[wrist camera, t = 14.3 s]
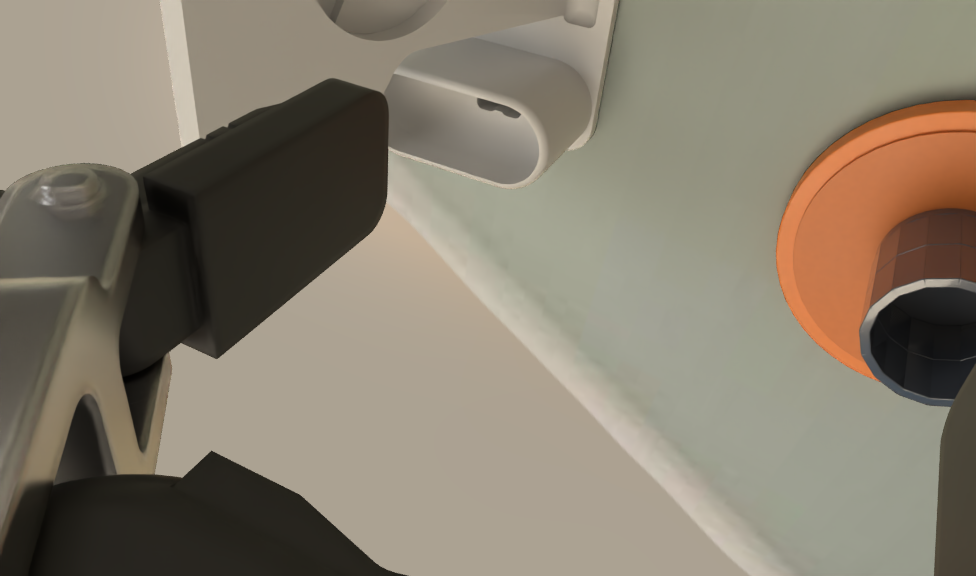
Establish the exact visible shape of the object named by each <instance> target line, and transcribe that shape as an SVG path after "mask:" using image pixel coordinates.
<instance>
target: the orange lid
mask: <svg viewBox="0 0 976 576" xmlns="http://www.w3.org/2000/svg"><path fill="white" fill-rule="evenodd" d="M943 208H958V209H967V210H972V211H976V100H955V101H940V102H933V103H927V104H921V105H915V106H912V107H908V108H904V109H901V110H897V111H893V112H891V113H888V114H886V115H883V116H881V117H878V118H876V119H873V120H871V121H869V122H867V123H865V124H863V125H861V126H859V127H858V128H856V129H854V130H852V131H850V132H849V133H847V134H846V135H845V136H843V137H842V138H840V139H839V140H837V141H836V142H835V143H833V144H832V145H831V146H830V147H829V148H828V149H826V150H825V151H824V152H823V153H822V154H821V155H820V156H819V157H818V158H817V159H816V160H815V161H814V162H813V163H812V165H811V166H810V167H809V168H808V169H807V171H806V172H805V173H804V175H803V176H802V178H801V179H800V181H799V182H798V184H797V186H796V187H795V189H794V191H793V193H792V195H791V198H790V200H789V202H788V204H787V207H786V209H785V212H784V214H783V217H782V221H781V224H780V228H779V232H778V238H777V246H776V261H777V271H778V276H779V281H780V285H781V288H782V291H783V294H784V296H785V299H786V301H787V303H788V305H789V307H790V309H791V311H792V313H793V315H794V316H795V318H796V319H797V320H798V322H799V323H800V325H801V326H802V327H803V329H804V330H805V331H806V332H807V333H808V334H809V336H810V337H811V338H812V339H813V340H814V341H815V342H816V343H817V344H818V345H819V346H820V347H822V348H823V349H824V350H825V351H826V352H828V353H829V354H830V355H831V356H833V357H834V358H836V359H837V360H839V361H840V362H841V363H843V364H844V365H846V366H848V367H850V368H851V369H853V370H855V371H857V372H859V373H861V374H863V375H865V376H867V377H870V378H872V379H875V380H877V381H879V380H878V379H876V378H875V377H874V375H873V374H872V372H871V371H870V369H869V367H868V366H867V364H866V362H865V361H864V359H863V357H862V356H861V352H860V339H859V328H860V323H861V317H862V312H863V307H864V302H865V297H866V292H867V287H868V282H869V276H870V271H871V266H872V263H873V261H874V257H875V254H876V251H877V248H878V246H879V244H880V243H881V241H882V240H883V238H884V237H885V236H886V234H887V233H888V232H889V231H890V230H891V229H892V228H894V227H895V226H896V225H898V224H899V223H900V222H902V221H904V220H905V219H907V218H909V217H911V216H914V215H916V214H919V213H922V212H925V211H930V210H935V209H943ZM879 382H880V381H879Z"/></svg>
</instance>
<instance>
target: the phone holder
mask: <svg viewBox="0 0 976 576" xmlns="http://www.w3.org/2000/svg"><path fill="white" fill-rule="evenodd" d="M618 4H619V0H160V7H161V13H162V20H163V26H164V33H165V40H166V47H167V54H168V61H169V67H170V74H171V81H172V88H173V94H174V100H175V107H176V113H177V120H178V126H179V132H180V139H181V146H182V147H184V146H186V145H188V144H189V143H191V142H193V141H195V140H197V139H199V138H203V139H205V138H206V135H207V134H209V133H211V132H213V131H215V130H217V129H218V128H220V127H222V126H224V127H228V124H229V123H230V122H232V121H234V120H236V119H238V118H240V117H242V116H244V115H246V114H247V113H249V112H251V111H253V110H255V109H259V108H263V107H267V106H271V105H275V104H280V103H282V102H284V101H286V100H288V99H290V98H292V97H294V96H296V95H298V94H299V93H301V92H303V91H305V90H307V89H309V88H311V87H313V86H315V85H317V84H318V83H320V82H322V81H324V80H326V79H329V78H336V79H340V80H343V81H346V82H349V83H353V84H356V85H359V86H363V87H366V88H369V89H373V90H376V91H379V92H381V93H382V94H383V95H384V96H385V98H386V100H387V103H388V108H389V136H388V150H390V151H392V152H394V153H396V154H398V155H401V156H404V157H407V158H410V159H413V160H416V161H419V162H422V163H425V164H429V165H432V166H435V167H438V168H441V169H444V170H447V171H450V172H453V173H456V174H459V175H462V176H465V177H469V178H472V179H475V180H478V181H481V182H484V183H487V184H490V185H493V186H496V187H500V188H505V189H517V188H522V187H525V186H528V185H530V184H531V183H533V182H534V181H536V180H537V179H538V178H539V177H540V176H541V175H542V174H543V173H544V172H545V171H546V170H547V169H548V168H549V167H550V166H551V165H552V164H553V163H554V162H555V161H556V160H557V159H558V158H559V157H560V156H561V155H562V154H563V153H564V152H565V151H566V150H575V149H578V148H580V147H582V146H583V145H584V144H585V143H586V142H587V141H588V140H589V139H590V138H591V137H592V136H593V134H594V132H595V129H596V125H597V119H598V114H599V108H600V103H601V97H602V92H603V86H604V81H605V75H606V70H607V64H608V59H609V53H610V48H611V42H612V37H613V31H614V26H615V20H616V15H617V9H618Z"/></svg>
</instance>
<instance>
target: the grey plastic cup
mask: <svg viewBox="0 0 976 576" xmlns="http://www.w3.org/2000/svg"><path fill="white" fill-rule="evenodd" d="M859 339H860V352H861V356H862V357H863V359H864V361H865V362H866V364H867V366H868V367H869V369H870V371H871V372H872V374H873V375H874V377H875V378H876V379H878V380H879V381H880V382H882V383H883V384H884V385H886V386H887V387H888V388H890V389H891V390H892V391H894V392H895V393H896V394H898V395H900V396H903V397H906V398H908V399H911V400H914V401H917V402H920V403H923V404H925V405H929V406H944V407H951V406H952V404H953V402H954V400H955V398H956V396H957V394H958V392H959V390H960V389H961V387H962V385H963V384H964V382H965V380H966V379H967V377H968V375H969V374H970V372H971V370H972V369H973V367H974V365H975V364H976V211H972V210H967V209H958V208H943V209H935V210H930V211H925V212H922V213H919V214H916V215H914V216H911V217H909V218H907V219H905V220H904V221H902V222H900V223H899V224H898V225H896V226H895V227H894V228H892V229H891V230H890V231H889V232H888V233H887V234H886V236H885V237H884V238H883V240H882V241H881V243H880V244H879V246H878V248H877V251H876V254H875V257H874V261H873V263H872V266H871V271H870V276H869V282H868V287H867V292H866V297H865V302H864V307H863V312H862V317H861V323H860V328H859Z"/></svg>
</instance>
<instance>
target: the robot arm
mask: <svg viewBox="0 0 976 576" xmlns="http://www.w3.org/2000/svg"><path fill="white" fill-rule="evenodd" d="M388 136H389V108H388V103H387V100H386V98H385V96H384V95H383V94H382V93H381V92H379V91H376V90H373V89H369V88H366V87H363V86H359V85H356V84H353V83H349V82H346V81H343V80H340V79H336V78H329V79H326V80H324V81H322V82H320V83H318V84H317V85H315V86H313V87H311V88H309V89H307V90H305V91H303V92H301V93H299V94H298V95H296V96H294V97H292V98H290V99H288V100H286V101H284V102H282V103H280V104H275V105H271V106H267V107H263V108H259V109H255V110H253V111H251V112H249V113H247V114H246V115H244V116H242V117H240V118H238V119H236V120H234V121H232V122H230V123H229V124H228V127H224V126H222V127H220V128H218V129H217V130H215V131H213V132H211V133H209V134H207V135H206V138H205V139H203V138H199V139H197V140H195V141H193V142H191V143H189V144H188V145H186V146H184V147H182V148H180V149H178V150H176V151H174V152H172V153H170V154H168V155H167V156H164V157H163V158H161V159H159V160H157V161H155V162H153V163H151V164H149V165H147V166H145V167H143V168H141V169H139V170H137V171H135V172H133V173H132V174H129V173H127V172H125V171H123V170H121V169H119V168H116V167H112V166H107V165H102V164H90V163H80V164H67V165H60V166H55V167H50V168H46V169H42V170H39V171H36V172H34V173H31V174H29V175H26V176H24V177H22V178H20V179H19V180H17V181H16V182H14V183H13V184H12V185H10V186H9V187H8V188H7V190H6V191H4V190H0V576H407V575H403V574H398V573H395V572H392V571H388V570H386V569H384V568H382V567H380V566H379V565H378V564H376V563H375V562H374V561H373V560H371V559H370V558H369V557H368V556H367V555H366V554H365V553H364V552H363V551H362V550H360V549H359V548H358V547H357V546H356V545H355V544H354V543H353V542H352V541H350V540H349V539H348V538H347V537H346V536H345V535H344V534H343V533H342V532H340V531H339V530H338V529H337V528H336V527H335V526H334V525H333V524H332V523H331V522H329V521H328V520H327V519H326V518H325V517H324V516H323V515H322V514H321V513H320V512H318V511H317V510H316V509H315V508H314V507H313V506H312V505H311V504H310V503H308V502H307V501H306V500H305V499H304V498H303V497H302V496H301V495H299V494H297V493H295V492H293V491H291V490H289V489H287V488H285V487H283V486H281V485H279V484H277V483H275V482H273V481H271V480H269V479H267V478H265V477H263V476H261V475H259V474H257V473H255V472H253V471H251V470H248V469H247V468H245V467H243V466H241V465H239V464H237V463H235V462H233V461H231V460H229V459H227V458H225V457H223V456H221V455H219V454H217V453H215V452H213V451H211V452H210V453H209V454H208V455H206V456H205V457H204V458H203V459H202V460H201V461H200V462H199V463H198V464H197V465H196V466H195V467H194V468H193V469H192V470H190V471H189V472H188V473H187V474H186V475H185V476H184V477H183V478H181V477H173V476H164V475H155V469H156V463H157V457H158V451H159V445H160V439H161V433H162V427H163V421H164V416H165V410H166V404H167V398H168V392H169V386H170V380H171V374H172V365H171V360H170V355H169V351H171V350H172V349H173V348H175V347H176V346H177V345H178V344H180V343H183V344H185V345H187V346H189V347H191V348H194V349H196V350H198V351H200V352H202V353H205V354H207V355H209V356H211V357H213V358H215V359H218V358H219V357H220V356H221V355H223V354H224V353H225V352H226V351H227V350H229V349H230V348H231V347H232V346H234V345H235V344H236V343H237V342H239V341H240V340H241V339H242V338H243V337H245V336H246V335H247V334H248V333H249V332H251V331H252V330H253V329H254V328H256V327H257V326H258V325H259V324H260V323H262V322H263V321H264V320H265V319H266V318H268V317H269V316H270V315H271V314H273V313H274V312H275V311H276V310H277V309H279V308H280V307H281V306H282V305H284V304H285V303H286V302H287V301H288V300H290V299H291V298H292V297H293V296H295V295H296V294H297V293H298V292H299V291H301V290H302V289H303V288H304V287H306V286H307V285H308V284H309V283H310V282H312V281H313V280H314V279H315V278H317V277H318V276H319V275H320V274H321V273H322V272H324V271H325V270H326V269H327V268H329V267H330V266H331V265H332V264H333V263H335V262H336V261H337V260H338V259H340V258H341V257H342V256H343V255H345V254H346V253H347V252H348V251H349V250H351V249H352V248H353V247H354V246H356V245H357V244H358V243H359V242H360V241H362V240H363V239H364V238H365V237H366V236H368V235H369V234H370V233H371V232H372V231H373V229H374V228H375V227H376V225H377V224H378V222H379V220H380V218H381V216H382V214H383V211H384V207H385V204H386V199H387V183H388ZM934 576H976V364H975V365H974V367H973V369H972V370H971V372H970V374H969V375H968V377H967V379H966V380H965V382H964V384H963V385H962V387H961V389H960V390H959V392H958V394H957V396H956V398H955V400H954V402H953V404H952V406H951V409H950V411H949V414H948V416H947V419H946V422H945V426H944V429H943V433H942V438H941V445H940V464H939V485H938V505H937V526H936V547H935V568H934Z"/></svg>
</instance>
